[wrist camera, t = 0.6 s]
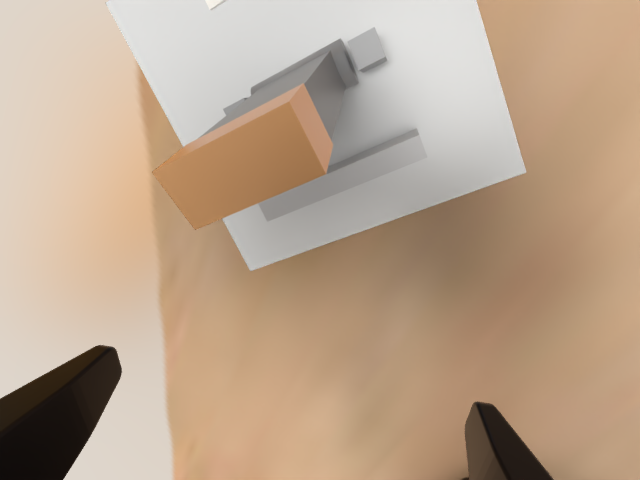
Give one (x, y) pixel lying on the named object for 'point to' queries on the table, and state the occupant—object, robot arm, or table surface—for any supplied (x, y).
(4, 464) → the robot arm
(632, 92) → the table surface
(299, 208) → the switch plate
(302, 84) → the lever
